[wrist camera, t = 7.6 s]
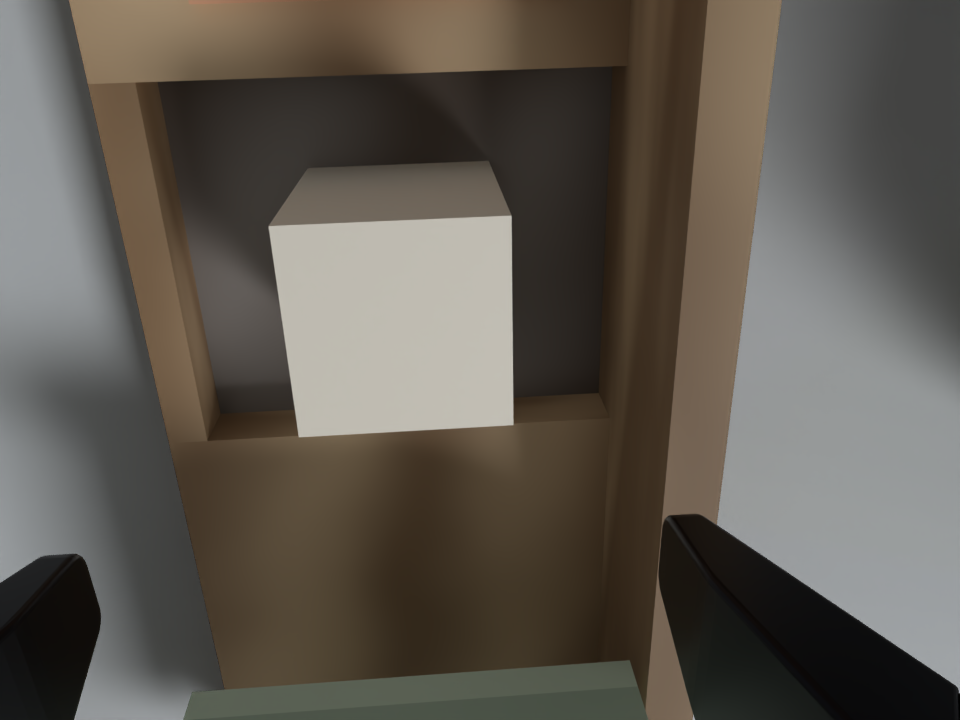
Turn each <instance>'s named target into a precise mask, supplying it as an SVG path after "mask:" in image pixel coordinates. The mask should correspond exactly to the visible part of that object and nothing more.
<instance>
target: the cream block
mask: <svg viewBox="0 0 960 720" xmlns="http://www.w3.org/2000/svg"><path fill="white" fill-rule="evenodd" d="M268 227H269V233H270V240H271V247H272V254H273V261H274V268H275V275H276V282H277V289H278V296H279V303H280V310H281V317H282V324H283V331H284V338H285V345H286V352H287V359H288V366H289V373H290V379H291V386H292V393H293V400H294V407H295V414H296V421H297V428H298V435H299V437H313V436H331V435H349V434H366V433H384V432H401V431H419V430H436V429H454V428H472V427H489V426H507V425H513V322H512V216H511V213H510V211H509V208H508V206H507V204H506V201H505V199H504V196H503V194H502V192H501V189H500V187H499V185H498V182H497V180H496V177H495V175H494V173H493V170H492V168H491V165H490V163H489V161H472V162H447V163H422V164H396V165H371V166H346V167H321V168H308V169H307V170H306V172H305V173H304V175H303V176H302V178H301V179H300V180H299V182H298V183H297V185H296V186H295V188H294V189H293V191H292V192H291V194H290V195H289V197H288V198H287V200H286V201H285V203H284V204H283V205H282V207H281V208H280V210H279V211H278V213H277V214H276V216H275V217H274V219H273V220H272V222H271V223H270V225H269V226H268Z"/></svg>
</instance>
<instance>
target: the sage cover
mask: <svg viewBox="0 0 960 720" xmlns="http://www.w3.org/2000/svg"><path fill="white" fill-rule="evenodd" d="M183 720H648V717H647V714H646V711H645V708H644V704H643V701H642V698H641V695H640V692H639V689H638V685H637V682H636V679H635V676H634V673H633V669H632V666H631V663H630V660H626V661H612V662H598V663H585V664H571V665H557V666H543V667H530V668H516V669H502V670H488V671H475V672H461V673H447V674H434V675H420V676H406V677H392V678H379V679H365V680H351V681H337V682H324V683H310V684H296V685H282V686H269V687H255V688H241V689H227V690H214V691H200V692H192V695H191V698H190V701H189V704H188V707H187V710H186V713H185V716H184V719H183Z"/></svg>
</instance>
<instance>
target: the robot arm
mask: <svg viewBox="0 0 960 720" xmlns="http://www.w3.org/2000/svg"><path fill="white" fill-rule="evenodd" d="M658 577H659V586H660V592H661V596H662V599H663V603H664V607H665V611H666V615H667V618H668V622H669V626H670V630H671V634H672V638H673V641H674V645H675V649H676V653H677V657H678V660H679V664H680V668H681V672H682V676H683V679H684V683H685V687H686V691H687V694H688V698H689V701H690V705H691V708H692V712H693V714H694V717H695V720H960V693H959V690H958V688H957V686H955V685H954V684H952V683H951V682H949V681H948V680H946V679H945V678H944V677H942V676H941V675H939V674H938V673H936V672H935V671H933V670H932V669H930V668H929V667H927V666H926V665H924V664H923V663H921V662H920V661H918V660H917V659H915V658H914V657H912V656H911V655H909V654H908V653H906V652H905V651H903V650H902V649H900V648H899V647H897V646H896V645H894V644H893V643H892V642H890V641H889V640H887V639H886V638H884V637H883V636H881V635H880V634H878V633H877V632H875V631H874V630H872V629H871V628H869V627H868V626H866V625H865V624H863V623H862V622H860V621H859V620H857V619H856V618H854V617H853V616H851V615H850V614H848V613H847V612H845V611H844V610H842V609H841V608H840V607H838V606H837V605H835V604H834V603H832V602H831V601H829V600H828V599H826V598H825V597H823V596H822V595H820V594H819V593H817V592H816V591H814V590H813V589H811V588H810V587H808V586H807V585H805V584H804V583H802V582H801V581H799V580H798V579H796V578H795V577H793V576H792V575H790V574H789V573H788V572H786V571H785V570H783V569H782V568H780V567H779V566H777V565H776V564H774V563H773V562H771V561H770V560H768V559H767V558H765V557H764V556H762V555H761V554H759V553H758V552H756V551H755V550H753V549H752V548H750V547H749V546H747V545H746V544H744V543H743V542H741V541H740V540H738V539H737V538H736V537H734V536H733V535H731V534H730V533H728V532H727V531H725V530H724V529H722V528H721V527H719V526H718V525H716V524H715V523H713V522H712V521H710V520H709V519H707V518H706V517H704V516H702V515H700V514H680V515H669V516H668V517H666V518H665V520H664V522H663V525H662V535H661V546H660V558H659V570H658ZM100 624H101V613H100V607H99V604H98V600H97V597H96V594H95V590H94V587H93V584H92V580H91V577H90V574H89V571H88V567H87V565H86V562H85V560H84V559H83V558H82V557H81V556H79V555H77V554H63V555H48V556H43V557H40V558H38V559H36V560H35V561H33V562H32V563H30V564H29V565H27V566H26V567H24V568H23V569H21V570H19V571H18V572H16V573H15V574H13V575H12V576H10V577H9V578H7V579H6V580H4V581H3V582H1V583H0V720H74V718H75V714H76V711H77V707H78V704H79V700H80V697H81V693H82V690H83V686H84V683H85V679H86V676H87V673H88V669H89V666H90V662H91V659H92V655H93V652H94V648H95V645H96V641H97V638H98V634H99V630H100Z"/></svg>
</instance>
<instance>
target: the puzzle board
mask: <svg viewBox="0 0 960 720" xmlns="http://www.w3.org/2000/svg"><path fill="white" fill-rule="evenodd" d="M69 3H70V7H71V12H72V16H73V21H74V25H75V29H76V34H77V38H78V43H79V47H80V52H81V56H82V60H83V65H84V69H85V74H86V78H87V83H88V87H89V91H90V96H91V100H92V105H93V109H94V114H95V118H96V122H97V127H98V131H99V136H100V140H101V145H102V149H103V153H104V158H105V162H106V167H107V171H108V176H109V180H110V184H111V189H112V193H113V198H114V202H115V207H116V211H117V215H118V220H119V224H120V229H121V233H122V238H123V242H124V246H125V251H126V255H127V260H128V264H129V268H130V273H131V277H132V282H133V286H134V291H135V295H136V299H137V304H138V308H139V313H140V317H141V322H142V326H143V330H144V335H145V339H146V344H147V348H148V353H149V357H150V361H151V366H152V370H153V375H154V379H155V384H156V388H157V392H158V397H159V401H160V406H161V410H162V415H163V419H164V423H165V428H166V432H167V437H168V441H169V446H170V450H171V454H172V459H173V463H174V468H175V472H176V477H177V481H178V485H179V490H180V494H181V499H182V503H183V508H184V512H185V516H186V521H187V525H188V530H189V534H190V539H191V543H192V547H193V552H194V556H195V561H196V565H197V570H198V574H199V578H200V583H201V587H202V592H203V596H204V601H205V605H206V609H207V614H208V618H209V623H210V627H211V632H212V636H213V640H214V645H215V649H216V654H217V658H218V662H219V667H220V671H221V676H222V680H223V685H224V689H225V690H227V689H241V688H255V687H269V686H282V685H296V684H310V683H324V682H337V681H351V680H365V679H379V678H392V677H406V676H420V675H434V674H447V673H461V672H475V671H488V670H502V669H516V668H530V667H543V666H557V665H571V664H585V663H598V662H612V661H626V660H630V663H631V666H632V669H633V673H634V676H635V679H636V682H637V685H638V689H639V692H640V695H641V698H642V701H643V704H644V708H645V711H646V714H647V717H648V720H692V719H693V712H692V708H691V705H690V701H689V698H688V694H687V691H686V687H685V683H684V679H683V676H682V672H681V668H680V664H679V660H678V657H677V653H676V649H675V645H674V641H673V638H672V634H671V630H670V626H669V622H668V618H667V615H666V611H665V607H664V603H663V599H662V596H661V592H660V586H659V577H658V570H659V558H660V546H661V535H662V525H663V522H664V520H665V518H666V517H668V516H669V515H680V514H700V515H702V516H704V517H706V518H707V519H709V520H710V521H712V522H713V523H715V524H716V525H717V518H718V510H719V502H720V494H721V485H722V477H723V469H724V461H725V453H726V445H727V437H728V429H729V421H730V413H731V405H732V397H733V389H734V381H735V373H736V365H737V357H738V349H739V341H740V333H741V325H742V317H743V309H744V301H745V293H746V284H747V276H748V268H749V260H750V252H751V244H752V236H753V228H754V220H755V212H756V204H757V196H758V188H759V180H760V172H761V164H762V156H763V148H764V140H765V132H766V124H767V116H768V108H769V100H770V92H771V83H772V75H773V67H774V59H775V51H776V43H777V35H778V27H779V19H780V11H781V3H782V0H69ZM472 161H489V163H490V165H491V168H492V170H493V173H494V175H495V177H496V180H497V182H498V185H499V187H500V189H501V192H502V194H503V196H504V199H505V201H506V204H507V206H508V208H509V211H510V213H511V216H512V322H513V425H507V426H489V427H472V428H454V429H436V430H419V431H401V432H384V433H366V434H349V435H331V436H313V437H299V435H298V428H297V421H296V414H295V407H294V400H293V393H292V386H291V379H290V373H289V366H288V359H287V352H286V345H285V338H284V331H283V324H282V317H281V310H280V303H279V296H278V289H277V282H276V275H275V268H274V261H273V254H272V247H271V240H270V233H269V227H268V226H269V225H270V223H271V222H272V220H273V219H274V217H275V216H276V214H277V213H278V211H279V210H280V208H281V207H282V205H283V204H284V203H285V201H286V200H287V198H288V197H289V195H290V194H291V192H292V191H293V189H294V188H295V186H296V185H297V183H298V182H299V180H300V179H301V178H302V176H303V175H304V173H305V172H306V170H307V169H308V168H321V167H346V166H371V165H396V164H422V163H447V162H472Z"/></svg>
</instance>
